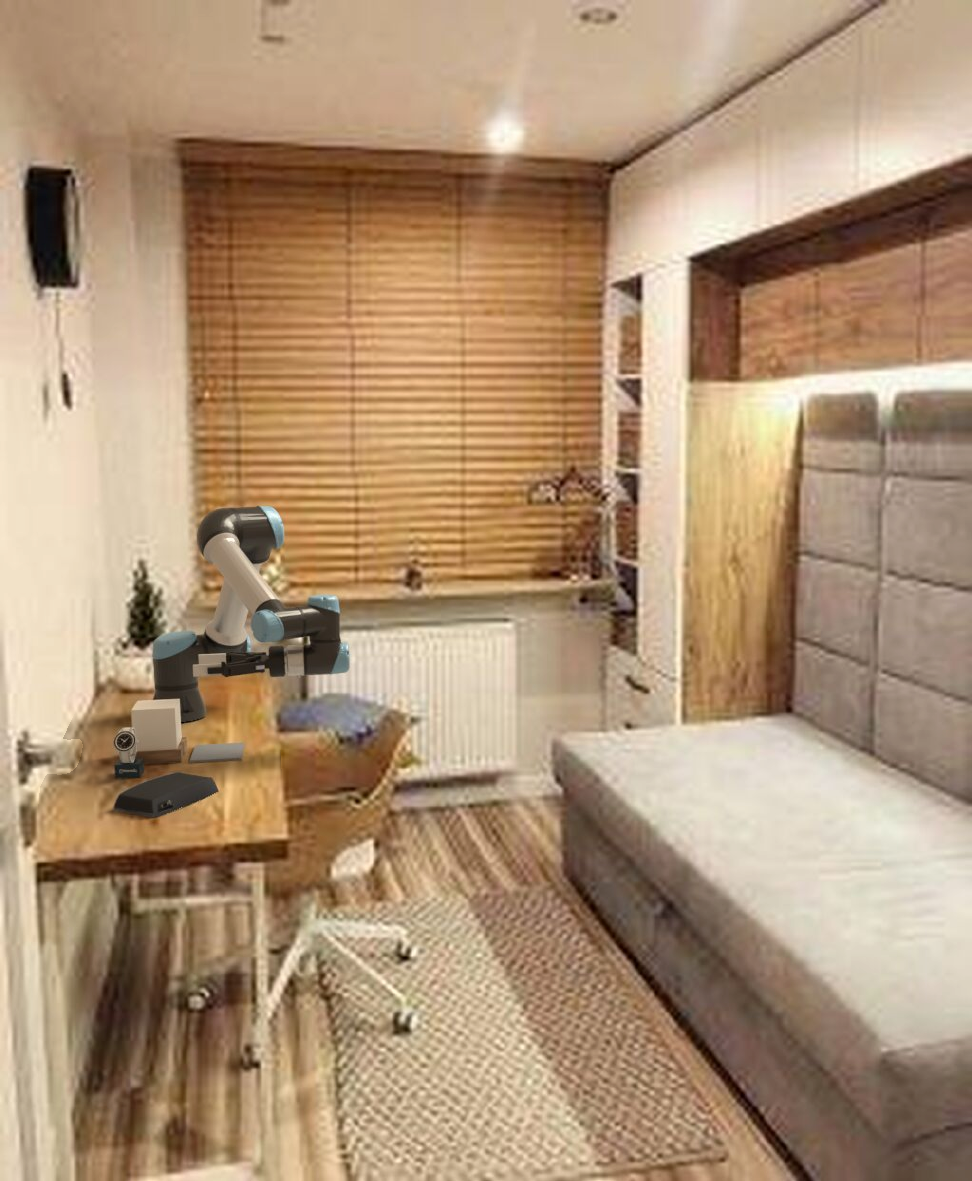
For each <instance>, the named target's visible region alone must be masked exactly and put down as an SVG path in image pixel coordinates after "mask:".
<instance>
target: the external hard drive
mask: <svg viewBox="0 0 972 1181" xmlns="http://www.w3.org/2000/svg"><path fill="white" fill-rule="evenodd" d="M216 792H217V793H218V792H219V788H218V786H217V783H216V782H215V780H214V779H213V777H210V776H205V775H204V776H203V775H197V774H191V773H184V772H180V771H175V772H171V773H167V774H164V775H160V776H157V777H154V778H153V777H152V778H151V779H148V780H145V781H142V782H140V783H137V784H135V785H133V786H130V787H129V788H127V789H125V790H123V791H122V792H120V793H119V794H118V795H117V797H116V799H115V802H114V803H113V804H114V805H113V808H112V810H113V811H115V810H116V811H115V812H120V811H121V813H126V814H131V815H137V816H141V817H147V818H152V819H155V818H159V817H161V816H162V817H163V816H165V815H167V813H168V814H170V813H172V811H173V812H175V811H174V810H176V811H178V810H180V809H179V808H181V807H183V808H186V807H188V806H191V805H193V804H195V803H197V801H198V802H200V801H203V800H204V799H206V797H207V798H209V797H211V796H213V795H215V794H217V793H216ZM214 793H215V794H214ZM212 794H213V795H212ZM210 795H211V796H210ZM208 796H209V797H208ZM199 800H200V801H199ZM192 803H193V804H192ZM190 804H191V805H190ZM177 809H178V810H177ZM181 809H182V808H181Z"/></svg>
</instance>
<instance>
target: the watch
mask: <svg viewBox="0 0 972 1181" xmlns="http://www.w3.org/2000/svg"><path fill="white" fill-rule="evenodd" d="M137 743H138V740H136V733H135V729H134V727H132V726H131V727H122V728H121V729H120V730H119V731H118V732H117V734H116V735H115V736H114V739H113V746H114V749H115V750H116V754H117V756H119V759H118V760H117V761H116V763H114V766H113V767H114V779H131V778H132V779H134V778H137V779H138V778H141V777H142V776H143V774H144V773H145V764H144V761H143V759H135V756H136V752H137Z"/></svg>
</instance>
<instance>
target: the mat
mask: <svg viewBox="0 0 972 1181" xmlns="http://www.w3.org/2000/svg"><path fill="white" fill-rule="evenodd" d="M245 745H246V744H245V742H228V743H226V742H224V743H211V744H210V743H206V744H195V746H194V747H193V750H192V753H191V756H190V758H189V764H195V763H196V764H197V763H212V762H214V763H216V762H232V761H234V762H235V761H242V758H243V754H244V750H245Z"/></svg>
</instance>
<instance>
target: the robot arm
mask: <svg viewBox="0 0 972 1181" xmlns="http://www.w3.org/2000/svg"><path fill="white" fill-rule="evenodd" d="M284 541H285V528H284V523H283V520H282V518H281V516H280V514H279V512H278V511H277V510H276V509H275V508H274V507H272V506H267V505H256V506H245V507H244V506H243V507H220V508H216V509H214V510H212V511H210V512H209V513H208V514H206V515H205V516H204V517H203V519H202V520H201V521H200V522H199V526H198V527H197V533H196V543H197V547H198V550H199V552H200V554H201V555H202V557H203V558H204V560H205V561H206V562H208V563H209V564H210V565H214V566H215V567H216V569H217V570H218V572H219V573H220V574H221V576H222V577H223V581H222V586H221V589H220V594H219V597H218V601H217V605H216V609H215V613H214V615H213V616H214V617H213V619H212V620H210V621H208V623H207V624H206V625H205V629H204V632H203V633H202V634H196V632H195V631H193V630H180V631H173V632H168V633H165V634H162V635H160V636H158V637H157V638H155V639H154V640H153V642H152V654H151V658H152V663H153V664H152V666H153V681H154V694H153V696H152V700H164V699H180V715H181V722H184V723H187V722H186V721H191V722H194V721H193V720H195V721H198V720H197V719H199V720H201V719H200V718H202V717H204V716H205V715H206V716H207V707H206V705H205V702H204V700H203V697H202V694H201V691H200V688H199V677H211V676H213V677H214V676H223V677H224V678H229V677H236V676H243V675H250V674H258V673H259V674H260V673H261V674H263V673H265V672H266V670H268V671H269V672H268V673H269V677H271V678H281V677H285V676H286V674H287V676H288V677H296V679H300V678H301V676H320V675H321V676H324V675H331V676H332V675H338V674H346V673H347V672H349V670H350V667H351V666H350V665H351V662H350V660H351V659H350V646H349V643H347V642H342V639H341V630H340V628H341V627H340V626H341V625H340V624H341V621H340V618H341V617H340V616H341V610H340V602H339V599H338V597H337V596H336V595H333V594H317V595H316V594H315V595H311V596H309V597H308V598H307V602H306V605H297V606H293V607H292V606H291V607H286V606H285V605H284V604H283V603H282V601H281V599H280V598H279V597H278V595H276V593H275V592H274V591H273V589H272V588H271V586H270V585H269V584H268V582H267V581H265V579H264V577H263V576H262V575H261V573H260V571H261V567H262V564H265V563H267V562H269V559H270V558H271V557H270V556H271V553H272V551H273V550H275V551H276V550H278V549H280V548H281V547H282V546H284ZM249 613H250V615H251V620H250V629H251V631H252V635H253V637H254V639H255V640H256V641H258V642H260V643H269V642H270V643H277V642H280V641H287V640H292V639H301V638H306V637H308V639H309V644H288V645H286V647H285V646H283V645H271V646H269V647H268V654H267V652H266V651H263V652H261V651H260V652H257V651H256V652H255V651H254V652H253V651H252V649H251V646H252V641H251V638H250V635H249V634H248V633H247V630H246V629H245V624H246V621H247V616H248V614H249ZM206 716H205V717H206ZM205 717H204V718H205ZM202 719H203V718H202Z"/></svg>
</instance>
